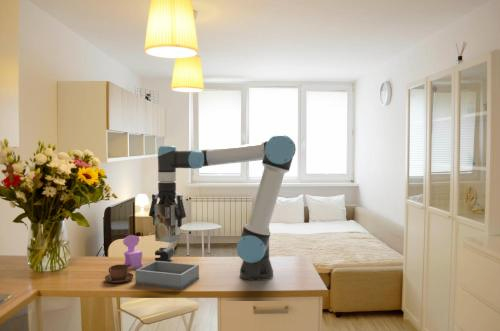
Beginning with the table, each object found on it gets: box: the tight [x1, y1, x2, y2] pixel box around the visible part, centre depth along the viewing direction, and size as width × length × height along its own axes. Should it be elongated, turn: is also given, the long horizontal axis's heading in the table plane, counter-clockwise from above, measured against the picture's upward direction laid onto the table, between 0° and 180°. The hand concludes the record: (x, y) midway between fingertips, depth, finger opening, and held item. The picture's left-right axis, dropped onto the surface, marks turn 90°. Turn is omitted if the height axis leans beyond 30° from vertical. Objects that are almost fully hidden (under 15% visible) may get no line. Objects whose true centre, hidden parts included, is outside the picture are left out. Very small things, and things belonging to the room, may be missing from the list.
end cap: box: [154, 246, 175, 262], centre depth 213 cm, size 10×7×7 cm
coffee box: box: [154, 203, 181, 244], centre depth 180 cm, size 9×6×16 cm
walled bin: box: [134, 260, 200, 290], centre depth 181 cm, size 22×16×6 cm
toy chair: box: [122, 234, 143, 270], centre depth 204 cm, size 8×9×15 cm
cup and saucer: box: [104, 264, 134, 284], centre depth 182 cm, size 12×12×6 cm
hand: (167, 233), depth 180 cm, fingers closed on coffee box, 9 cm apart
